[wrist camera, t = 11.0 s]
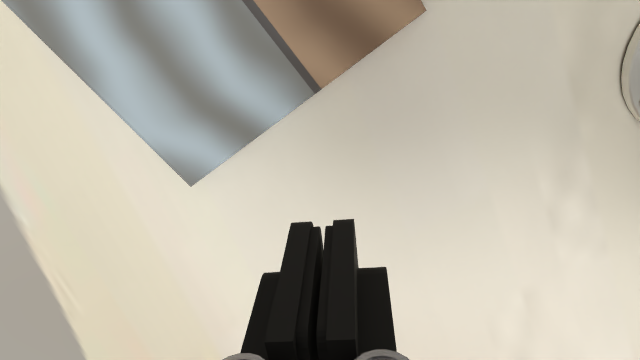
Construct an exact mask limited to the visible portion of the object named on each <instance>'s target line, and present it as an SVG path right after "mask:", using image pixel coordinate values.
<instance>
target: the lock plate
mask: <svg viewBox="0 0 640 360" xmlns="http://www.w3.org/2000/svg"><path fill="white" fill-rule="evenodd" d="M1 1H3V2H4V3H5V4H6V5H7V6H8V7H9V8H10V9H11V10H12V11H13V12H14V13H15V14H16V15H17V16H18V17H19V18H20V19H21V20H22V21H23V22H24V23H25V24H26V25H27V26H28V27H29V28H30V29H31V30H32V31H33V32H34V33H35V34H36V35H37V36H38V37H39V38H40V39H41V40H42V41H43V42H44V43H45V44H46V45H47V46H48V47H49V48H50V49H51V50H52V51H53V52H54V53H55V54H56V55H57V56H58V57H59V58H60V59H61V60H62V61H63V62H64V63H66V64H67V65H68V66H69V67H70V68H71V69H72V70H73V71H74V72H75V73H76V74H77V75H78V76H79V77H80V78H81V79H82V80H83V81H84V82H85V83H86V84H87V85H88V86H89V87H90V88H91V89H92V90H93V91H94V92H95V93H96V94H97V95H98V96H99V97H100V98H101V99H102V100H103V101H104V102H105V103H106V104H107V105H108V106H109V107H110V108H111V109H112V110H113V111H114V112H115V113H116V114H117V115H118V116H119V117H120V118H121V119H122V120H123V121H124V122H125V123H126V124H127V125H129V126H130V127H131V128H132V129H133V130H134V131H135V132H136V133H137V134H138V135H139V136H140V137H141V138H142V139H143V140H144V141H145V142H146V143H147V144H148V145H149V146H150V147H151V148H152V149H153V150H154V151H155V152H156V153H157V154H158V155H159V156H160V157H161V158H162V159H163V160H164V161H165V162H166V163H167V164H168V165H169V166H170V167H171V168H172V169H173V170H174V171H175V172H176V173H177V174H178V175H179V176H180V177H181V178H182V179H183V180H184V181H185V182H186V183H187V184H188V185H189V186H193V185H194V184H195V183H197V182H198V181H199V180H201V179H202V178H203V177H205V176H206V175H207V174H209V173H210V172H211V171H213V170H214V169H215V168H217V167H218V166H219V165H221V164H222V163H223V162H225V161H226V160H227V159H229V158H230V157H231V156H233V155H234V154H235V153H237V152H238V151H239V150H241V149H242V148H243V147H245V146H246V145H247V144H249V143H250V142H251V141H253V140H254V139H255V138H257V137H258V136H259V135H261V134H262V133H263V132H265V131H266V130H267V129H269V128H270V127H271V126H273V125H274V124H275V123H277V122H278V121H279V120H281V119H282V118H283V117H285V116H286V115H287V114H289V113H290V112H291V111H293V110H294V109H295V108H297V107H298V106H299V105H301V104H302V103H303V102H305V101H306V100H308V99H309V98H310V97H312V96H313V95H314V94H316V93H317V92H318V91H320V90H321V89H322V88H324V87H325V86H326V85H328V84H329V83H330V82H332V81H333V80H334V79H336V78H337V77H338V76H340V75H341V74H342V73H344V72H345V71H346V70H348V69H349V68H350V67H352V66H353V65H354V64H356V63H357V62H358V61H360V60H361V59H362V58H364V57H365V56H366V55H368V54H369V53H370V52H372V51H373V50H374V49H376V48H377V47H378V46H380V45H381V44H382V43H384V42H385V41H386V40H388V39H389V38H390V37H392V36H393V35H394V34H396V33H397V32H398V31H400V30H401V29H402V28H404V27H405V26H406V25H408V24H409V23H410V22H412V21H413V20H414V19H416V18H417V17H418V16H420V15H421V14H422V13H424V12H425V11H426V9H425V7H424V5H423V4H422V2H421V0H1Z"/></svg>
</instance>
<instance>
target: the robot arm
mask: <svg viewBox="0 0 640 360" xmlns="http://www.w3.org/2000/svg"><path fill="white" fill-rule="evenodd" d="M621 82H622V91H623V96H624V99H625V102H626V104H627V107H628V109H629V110H630V111H631V113H632V114H633V116H634V117H635V118H636V119H637V120H638V121H640V24H639V26H638V27H637V29H636V31H635V33H634V35H633V37H632V39H631V41H630V43H629V45H628V48H627V51H626V55H625V58H624V61H623V67H622V77H621ZM223 360H409V359H408V358H407V357H405V356H403V355H402V354H400V353H398V352H397V351H396V343H395V335H394V326H393V318H392V310H391V302H390V293H389V285H388V277H387V269H386V267H376V268H358V259H357V247H356V236H355V225H354V219H347V220H334V221H333V226H326V229H325V240H324V250H323V243H322V235H321V229H320V227H313V223H312V222H298V223H291V226H290V230H289V234H288V239H287V243H286V248H285V252H284V257H283V261H282V266H281V270H280V272H272V273H264V274H263V275H262V278H261V281H260V284H259V288H258V292H257V295H256V299H255V302H254V306H253V310H252V313H251V317H250V320H249V324H248V327H247V331H246V335H245V338H244V342H243V345H242V349H241V353H239V354H235V355H232V356H228V357H227V358H225V359H223Z"/></svg>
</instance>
